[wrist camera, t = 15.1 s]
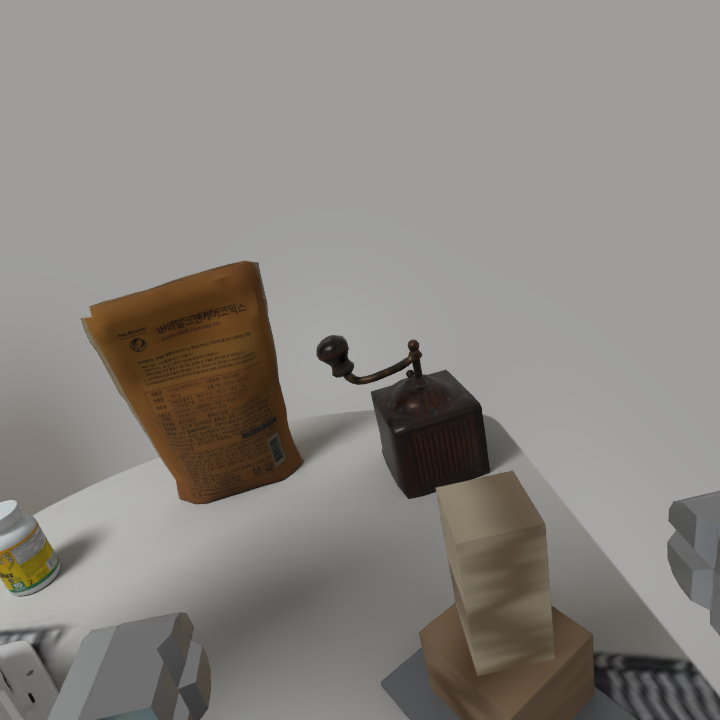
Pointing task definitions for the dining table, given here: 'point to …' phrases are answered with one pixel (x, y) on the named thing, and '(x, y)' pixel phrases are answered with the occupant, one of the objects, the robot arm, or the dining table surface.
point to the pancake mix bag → (201, 379)
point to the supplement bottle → (24, 552)
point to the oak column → (498, 571)
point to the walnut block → (510, 674)
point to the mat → (434, 716)
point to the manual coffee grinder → (420, 422)
